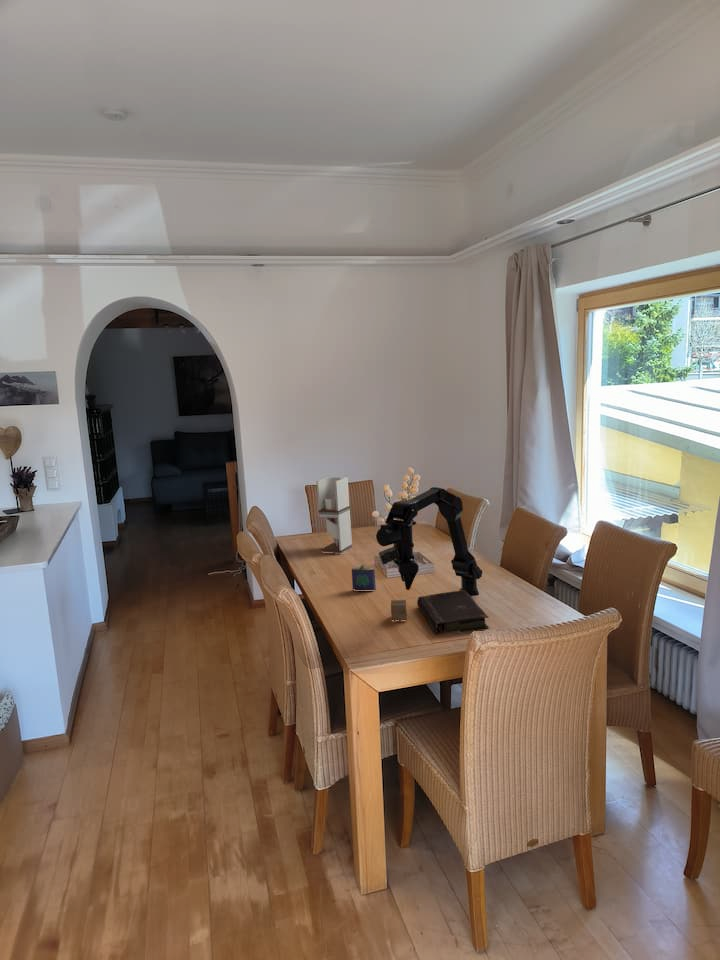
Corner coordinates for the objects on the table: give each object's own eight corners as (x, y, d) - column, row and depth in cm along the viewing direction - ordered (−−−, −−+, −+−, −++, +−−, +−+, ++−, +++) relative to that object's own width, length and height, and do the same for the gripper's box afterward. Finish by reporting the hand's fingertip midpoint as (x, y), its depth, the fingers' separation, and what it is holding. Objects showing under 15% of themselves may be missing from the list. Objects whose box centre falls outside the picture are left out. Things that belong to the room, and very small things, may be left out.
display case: (333, 546, 313) (328, 477, 307) (352, 548, 308) (347, 477, 303) (321, 553, 303) (316, 481, 297) (341, 554, 298) (336, 481, 293)
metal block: (392, 616, 219) (391, 600, 218) (406, 616, 219) (405, 599, 218) (391, 622, 214) (390, 605, 213) (406, 621, 214) (405, 604, 213)
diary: (435, 637, 202) (434, 622, 201) (417, 609, 226) (416, 596, 226) (491, 629, 204) (491, 615, 203) (468, 603, 229) (467, 589, 228)
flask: (376, 589, 248) (374, 563, 246) (375, 592, 245) (373, 565, 243) (353, 589, 250) (351, 563, 248) (351, 591, 247) (350, 565, 245)
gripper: (376, 534, 218) (378, 578, 220) (383, 548, 199) (385, 596, 202) (408, 532, 219) (410, 576, 221) (418, 546, 200) (419, 593, 203)
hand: (405, 585), depth 212 cm, fingers open, 9 cm apart
